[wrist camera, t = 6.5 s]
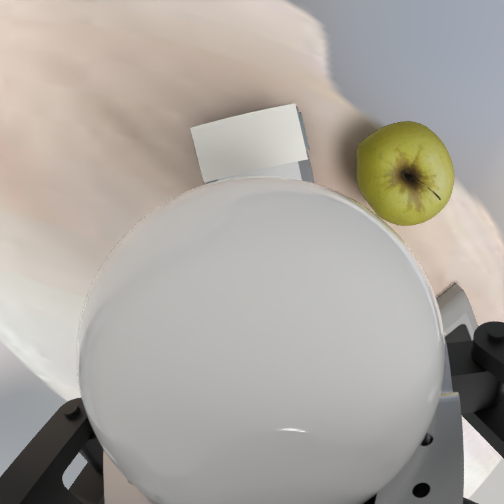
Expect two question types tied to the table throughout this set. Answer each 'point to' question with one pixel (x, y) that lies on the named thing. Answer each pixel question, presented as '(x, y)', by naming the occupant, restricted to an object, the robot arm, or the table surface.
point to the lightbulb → (260, 348)
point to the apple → (404, 173)
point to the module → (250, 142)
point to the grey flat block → (456, 315)
